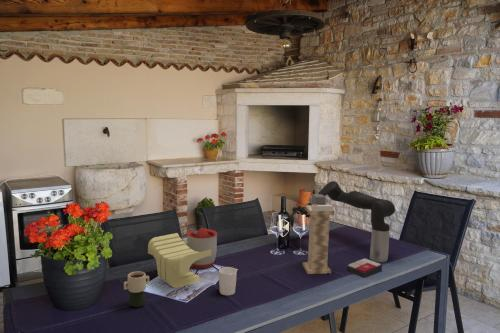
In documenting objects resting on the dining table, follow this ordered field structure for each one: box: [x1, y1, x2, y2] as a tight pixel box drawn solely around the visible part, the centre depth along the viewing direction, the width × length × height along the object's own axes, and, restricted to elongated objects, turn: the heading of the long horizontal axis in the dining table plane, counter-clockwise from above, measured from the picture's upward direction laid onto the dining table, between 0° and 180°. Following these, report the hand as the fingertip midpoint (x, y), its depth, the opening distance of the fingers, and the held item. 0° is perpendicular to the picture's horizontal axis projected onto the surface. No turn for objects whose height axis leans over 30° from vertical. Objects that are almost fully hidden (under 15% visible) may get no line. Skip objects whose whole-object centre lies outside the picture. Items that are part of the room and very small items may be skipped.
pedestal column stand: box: [301, 204, 335, 275], centre depth 207 cm, size 12×12×32 cm
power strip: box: [311, 204, 334, 211], centre depth 199 cm, size 10×2×3 cm, turn 97°
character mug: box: [123, 270, 150, 308], centre depth 165 cm, size 11×7×13 cm, turn 130°
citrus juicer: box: [186, 226, 218, 269], centre depth 210 cm, size 16×17×20 cm
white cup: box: [218, 266, 238, 296], centre depth 179 cm, size 8×8×10 cm
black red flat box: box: [346, 257, 383, 279], centre depth 208 cm, size 11×4×15 cm
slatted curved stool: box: [147, 232, 211, 289], centre depth 190 cm, size 30×16×18 cm, turn 40°
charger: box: [308, 193, 327, 205], centre depth 210 cm, size 5×16×6 cm, turn 7°
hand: (307, 206), depth 225 cm, fingers open, 8 cm apart
